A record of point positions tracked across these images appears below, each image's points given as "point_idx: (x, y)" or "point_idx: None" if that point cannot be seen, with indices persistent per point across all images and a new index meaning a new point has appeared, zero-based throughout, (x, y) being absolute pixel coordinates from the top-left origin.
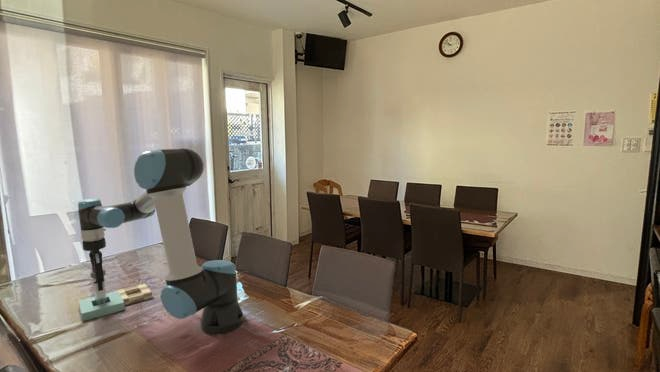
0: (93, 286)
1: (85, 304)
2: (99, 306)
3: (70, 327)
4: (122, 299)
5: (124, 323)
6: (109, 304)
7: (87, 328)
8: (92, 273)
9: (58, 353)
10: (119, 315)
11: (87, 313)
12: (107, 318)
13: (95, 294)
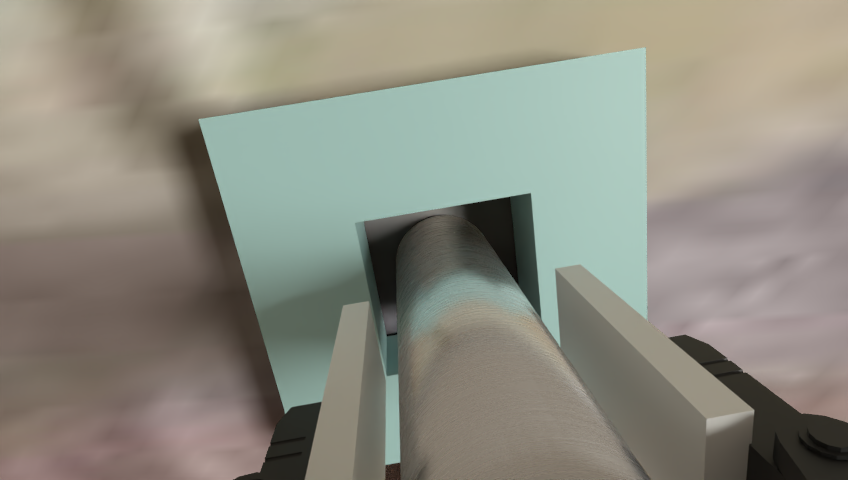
0: (469, 346)
1: (464, 139)
2: (320, 284)
3: (148, 11)
4: (385, 464)
5: (45, 433)
6: (321, 368)
7: (58, 170)
8: None
9: None
10: (223, 393)
11: (219, 174)
12: (206, 313)
13: (423, 298)
